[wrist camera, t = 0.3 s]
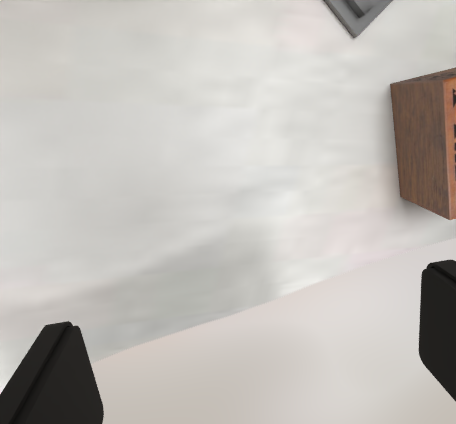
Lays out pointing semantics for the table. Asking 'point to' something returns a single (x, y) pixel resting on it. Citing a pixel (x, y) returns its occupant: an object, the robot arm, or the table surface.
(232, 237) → the table surface
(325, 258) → the table surface
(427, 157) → the tissue box cover
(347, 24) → the tester cradle
